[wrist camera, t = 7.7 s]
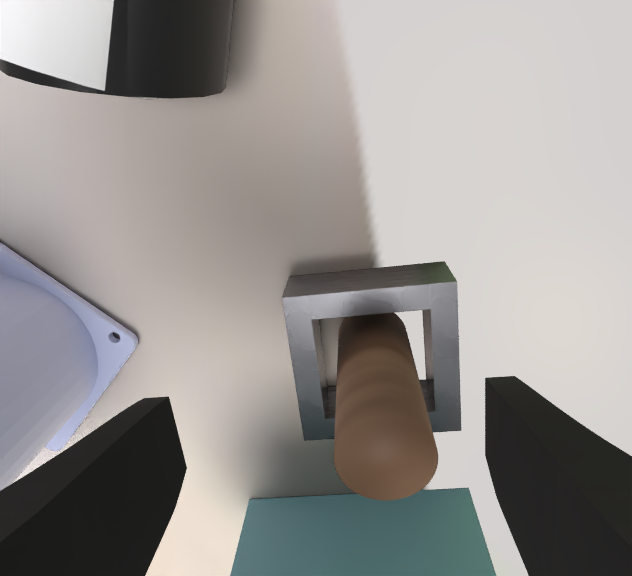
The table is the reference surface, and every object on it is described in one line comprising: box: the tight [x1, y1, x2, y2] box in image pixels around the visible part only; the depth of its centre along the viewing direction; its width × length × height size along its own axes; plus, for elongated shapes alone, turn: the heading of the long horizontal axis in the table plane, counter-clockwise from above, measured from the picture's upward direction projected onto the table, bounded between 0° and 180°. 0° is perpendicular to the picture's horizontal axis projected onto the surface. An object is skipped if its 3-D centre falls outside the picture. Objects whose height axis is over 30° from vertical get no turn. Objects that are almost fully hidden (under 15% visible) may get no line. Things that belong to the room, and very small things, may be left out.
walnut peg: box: [334, 313, 438, 501], centre depth 18 cm, size 3×3×8 cm
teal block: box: [230, 488, 496, 576], centre depth 19 cm, size 11×5×11 cm, turn 97°
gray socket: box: [282, 262, 461, 441], centre depth 21 cm, size 6×6×2 cm
